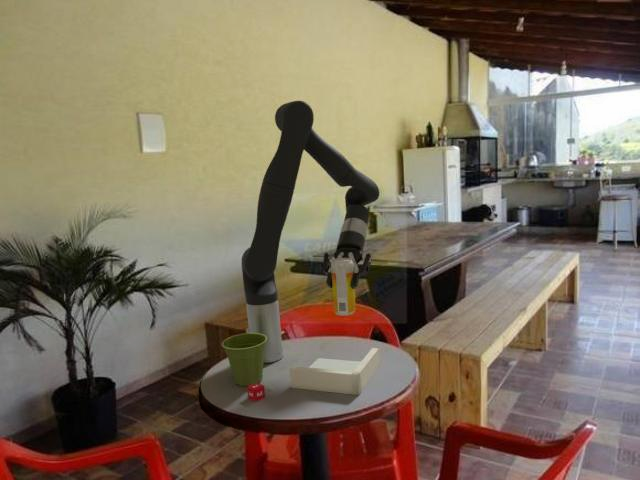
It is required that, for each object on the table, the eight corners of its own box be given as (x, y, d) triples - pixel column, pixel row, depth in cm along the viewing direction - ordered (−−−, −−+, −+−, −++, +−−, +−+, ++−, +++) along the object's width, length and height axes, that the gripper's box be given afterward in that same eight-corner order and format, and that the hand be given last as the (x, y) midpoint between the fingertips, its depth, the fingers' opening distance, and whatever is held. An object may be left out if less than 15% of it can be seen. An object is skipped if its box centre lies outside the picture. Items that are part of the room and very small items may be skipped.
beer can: (355, 309, 142) (353, 257, 140) (355, 315, 136) (352, 261, 134) (334, 310, 142) (331, 258, 140) (333, 316, 136) (330, 262, 134)
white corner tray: (291, 387, 127) (289, 368, 126) (318, 360, 143) (317, 344, 142) (359, 395, 120) (357, 375, 119) (379, 366, 136) (378, 348, 135)
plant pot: (221, 378, 135) (216, 338, 134) (263, 368, 140) (259, 330, 139) (232, 395, 125) (227, 351, 123) (277, 384, 129) (273, 342, 128)
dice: (258, 394, 125) (257, 382, 124) (265, 397, 122) (264, 385, 122) (248, 398, 123) (246, 386, 122) (255, 401, 120) (254, 390, 120)
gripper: (325, 229, 145) (312, 279, 136) (373, 229, 140) (363, 280, 131) (332, 244, 151) (320, 293, 142) (379, 244, 146) (369, 295, 136)
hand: (341, 286), depth 136 cm, fingers closed on beer can, 6 cm apart
